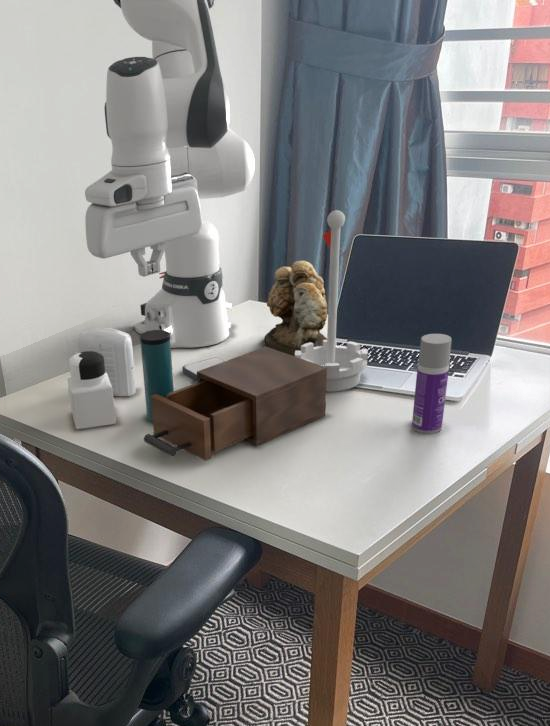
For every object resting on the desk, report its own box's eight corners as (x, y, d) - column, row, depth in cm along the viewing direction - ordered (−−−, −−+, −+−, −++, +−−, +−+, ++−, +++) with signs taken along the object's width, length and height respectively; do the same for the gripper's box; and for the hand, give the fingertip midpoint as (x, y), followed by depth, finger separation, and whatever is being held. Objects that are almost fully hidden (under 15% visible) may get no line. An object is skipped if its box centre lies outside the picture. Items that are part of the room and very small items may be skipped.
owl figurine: (247, 340, 175) (246, 258, 166) (294, 328, 179) (295, 247, 170) (297, 366, 162) (299, 277, 152) (346, 352, 166) (351, 265, 156)
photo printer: (139, 389, 158) (133, 326, 152) (131, 398, 155) (124, 334, 148) (90, 385, 162) (82, 323, 155) (81, 394, 158) (72, 331, 152)
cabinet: (256, 446, 135) (256, 396, 130) (198, 419, 145) (196, 371, 140) (325, 416, 142) (327, 367, 137) (265, 392, 152) (265, 346, 148)
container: (440, 434, 133) (451, 344, 125) (410, 432, 135) (419, 343, 126) (442, 422, 137) (453, 333, 128) (413, 420, 138) (421, 332, 130)
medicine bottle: (111, 408, 152) (103, 345, 145) (116, 424, 146) (109, 359, 140) (72, 414, 151) (63, 350, 145) (76, 430, 145) (67, 365, 139)
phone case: (179, 374, 164) (222, 399, 151) (179, 366, 163) (222, 390, 150) (218, 363, 167) (263, 387, 154) (217, 355, 166) (263, 378, 154)
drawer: (183, 470, 128) (181, 430, 124) (132, 442, 138) (128, 403, 134) (274, 431, 137) (274, 392, 133) (220, 407, 146) (218, 370, 142)
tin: (158, 426, 144) (151, 342, 136) (141, 417, 148) (133, 335, 140) (181, 416, 147) (176, 334, 138) (164, 408, 150) (157, 327, 142)
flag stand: (378, 386, 151) (391, 212, 134) (311, 398, 148) (316, 223, 132) (346, 361, 161) (355, 198, 145) (283, 373, 159) (285, 208, 143)
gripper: (183, 168, 133) (188, 256, 140) (75, 192, 124) (86, 285, 131) (208, 171, 129) (212, 262, 136) (98, 196, 119) (108, 292, 127)
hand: (149, 274), depth 133 cm, fingers closed
